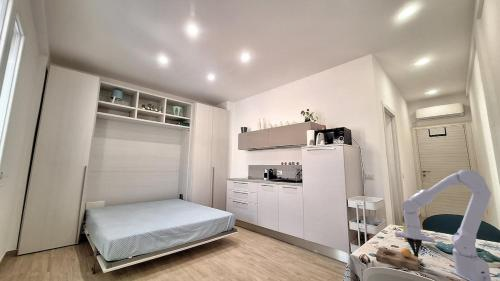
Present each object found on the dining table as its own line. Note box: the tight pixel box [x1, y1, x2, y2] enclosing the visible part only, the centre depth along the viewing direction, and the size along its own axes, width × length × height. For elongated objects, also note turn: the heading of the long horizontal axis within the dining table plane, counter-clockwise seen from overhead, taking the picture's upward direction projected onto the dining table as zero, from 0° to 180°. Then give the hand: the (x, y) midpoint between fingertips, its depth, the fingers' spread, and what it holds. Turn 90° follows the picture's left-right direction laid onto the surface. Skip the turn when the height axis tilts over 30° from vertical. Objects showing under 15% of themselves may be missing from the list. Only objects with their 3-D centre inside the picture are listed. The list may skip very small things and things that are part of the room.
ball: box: [400, 247, 413, 257], centre depth 96 cm, size 4×4×4 cm
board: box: [375, 247, 419, 271], centre depth 99 cm, size 16×12×2 cm
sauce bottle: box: [401, 214, 415, 242], centre depth 125 cm, size 7×6×20 cm
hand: (416, 255), depth 94 cm, fingers closed
